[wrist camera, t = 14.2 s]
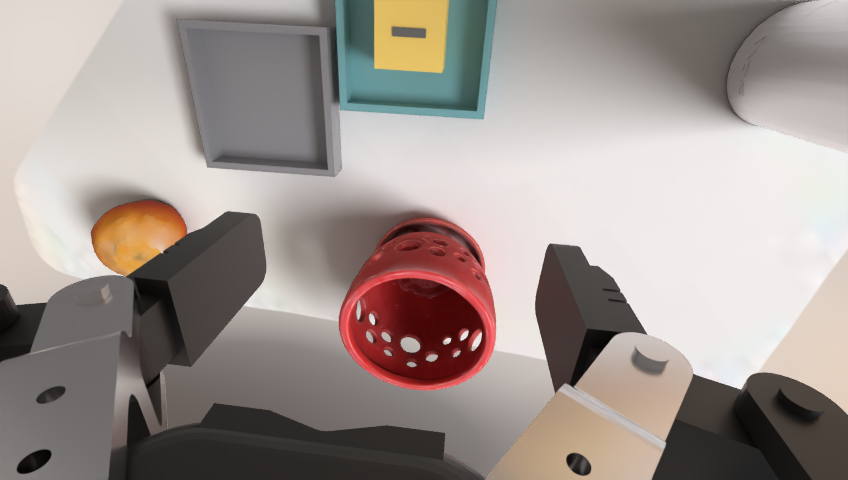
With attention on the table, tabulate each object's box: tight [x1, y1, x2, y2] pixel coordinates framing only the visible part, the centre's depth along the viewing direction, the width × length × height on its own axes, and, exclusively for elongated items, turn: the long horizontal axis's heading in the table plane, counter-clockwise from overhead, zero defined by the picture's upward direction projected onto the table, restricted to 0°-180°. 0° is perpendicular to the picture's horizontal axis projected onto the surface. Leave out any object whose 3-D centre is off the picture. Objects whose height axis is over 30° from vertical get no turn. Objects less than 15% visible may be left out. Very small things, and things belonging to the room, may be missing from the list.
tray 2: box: [335, 0, 497, 119], centre depth 32 cm, size 12×12×2 cm
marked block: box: [374, 0, 449, 73], centre depth 30 cm, size 5×5×5 cm
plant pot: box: [339, 218, 496, 390], centre depth 38 cm, size 13×13×12 cm
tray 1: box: [177, 19, 342, 177], centre depth 35 cm, size 12×12×2 cm
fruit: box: [91, 200, 187, 276], centre depth 41 cm, size 8×8×8 cm
